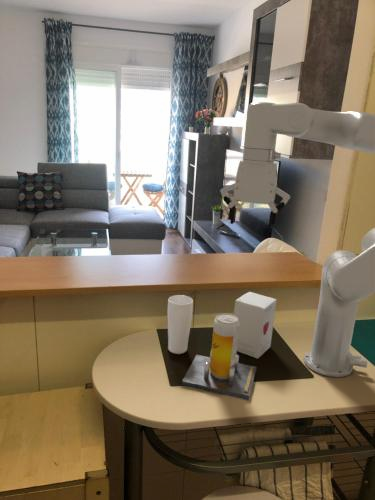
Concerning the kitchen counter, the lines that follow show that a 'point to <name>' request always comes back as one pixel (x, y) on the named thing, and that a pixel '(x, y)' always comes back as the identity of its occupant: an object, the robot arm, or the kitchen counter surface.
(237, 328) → the beer can
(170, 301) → the drinking glass
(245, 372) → the plate
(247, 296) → the supplement box
